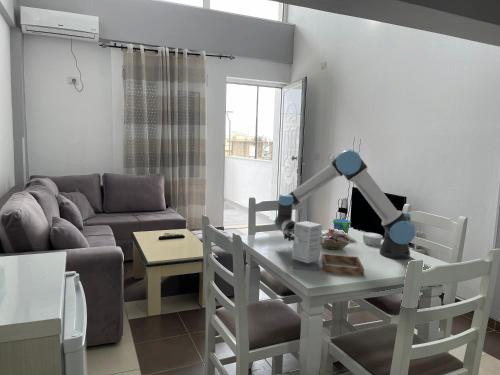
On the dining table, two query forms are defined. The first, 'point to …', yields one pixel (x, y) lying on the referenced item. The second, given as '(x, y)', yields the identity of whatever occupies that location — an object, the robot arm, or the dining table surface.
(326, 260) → the walnut crate
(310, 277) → the dining table surface
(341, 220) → the snack cup
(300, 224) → the supplement box
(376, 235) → the ramekin
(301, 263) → the grey pad
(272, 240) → the dining table surface
